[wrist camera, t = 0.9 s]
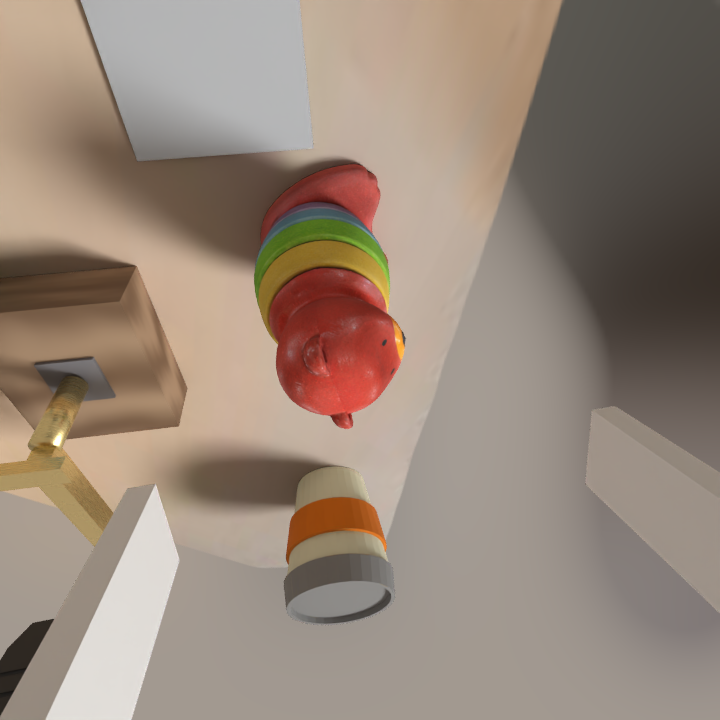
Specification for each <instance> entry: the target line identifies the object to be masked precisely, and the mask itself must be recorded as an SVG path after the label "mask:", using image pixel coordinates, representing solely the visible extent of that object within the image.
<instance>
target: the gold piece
mask: <svg viewBox="0 0 720 720" xmlns="http://www.w3.org/2000/svg"><path fill="white" fill-rule="evenodd" d="M88 389H89V385H88V383H87V382H86V381H85V380H83V379H81V378H79V377H75V376H67V377H64V378H63V379H62V380H61V382H60V384H59V386H58V388H57V389H56V391H55V393H54V395H53V397H52V399H51V401H50V403H49V405H48V407H47V408H46V410H45V412H44V414H43V416H42V418H41V420H40V422H39V424H38V426H37V427H36V429H35V431H34V433H33V435H32V437H31V439H30V441H29V443H28V447H29V449H30V450H31V453H30V455H29V457H28V459H27V461H21V462H12V463H4V464H0V491H7V490H15V489H23V488H31V487H39V488H40V489H41V490H42V491H43V492H44V493H45V494H46V495H47V496H48V497H49V498H50V499H51V501H52V502H53V503H54V504H55V505H56V506H57V507H58V508H59V509H60V510H61V511H62V512H63V513H64V514H65V515H66V516H67V518H69V520H70V521H71V522H72V523H73V524H74V525H75V526H76V527H77V528H78V529H79V531H80V532H81V533H82V534H83V535H84V536H85V537H86V538H87V539H88V540H89V541H90V542H91V543H92V544H93V545H94V547H95V546H96V544H97V542H98V540H99V538H100V537H101V535H102V533H103V531H104V529H105V528H106V526H107V524H108V522H109V520H110V519H111V517H112V515H113V512H112V511H111V509H110V508H109V507H108V506H107V504H106V503H105V502H104V500H103V499H102V498H101V497H100V495H99V494H98V493H97V492H96V490H95V489H94V488H93V486H92V485H91V484H90V483H89V481H88V480H87V479H86V478H85V476H84V475H83V474H82V472H81V471H80V470H79V469H78V467H77V466H76V465H75V464H74V462H73V461H72V460H71V458H70V457H69V456H68V455H67V453H66V452H65V451H64V450H63V448H62V447H63V444H64V442H65V440H66V438H67V436H68V433H69V431H70V429H71V427H72V425H73V422H74V420H75V418H76V416H77V413H78V411H79V409H80V407H81V405H82V402H83V400H84V398H85V396H86V394H87V391H88Z"/></svg>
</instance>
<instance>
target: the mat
mask: <svg viewBox="0 0 720 720" xmlns="http://www.w3.org/2000/svg"><path fill="white" fill-rule="evenodd" d="M81 3H82V6H83V9H84V11H85V14H86V17H87V20H88V23H89V26H90V28H91V31H92V34H93V37H94V40H95V43H96V45H97V48H98V51H99V54H100V57H101V60H102V63H103V65H104V68H105V71H106V74H107V77H108V80H109V82H110V85H111V88H112V91H113V94H114V97H115V99H116V102H117V105H118V108H119V111H120V114H121V116H122V119H123V122H124V125H125V128H126V131H127V134H128V136H129V139H130V142H131V145H132V148H133V151H134V153H135V156H136V159H137V161H150V160H163V159H177V158H191V157H204V156H218V155H231V154H245V153H258V152H272V151H286V150H299V149H313V137H312V127H311V116H310V106H309V95H308V85H307V74H306V64H305V54H304V43H303V33H302V22H301V12H300V1H299V0H81Z"/></svg>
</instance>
